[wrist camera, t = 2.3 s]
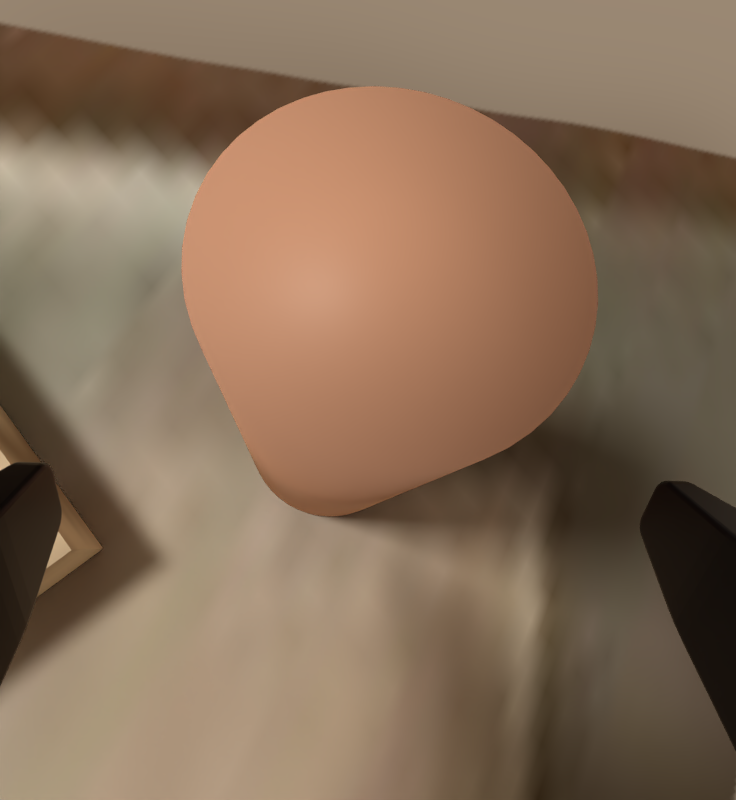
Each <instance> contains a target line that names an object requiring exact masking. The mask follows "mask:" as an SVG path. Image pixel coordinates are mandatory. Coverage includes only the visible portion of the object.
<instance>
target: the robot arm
mask: <svg viewBox="0 0 736 800" xmlns="http://www.w3.org/2000/svg"><path fill="white" fill-rule="evenodd" d="M61 519H62V508H61V503H60V499H59V495H58V490H57V486H56V482H55V478H54V473H53V471H52V468H51V467H50V465H48V464H46V463H43V462H16V463H13V464H11V465H9V466H7V467H5V468H4V469H2V470H0V685H1V683H2V681H3V679H4V677H5V675H6V672H7V670H8V668H9V666H10V664H11V661H12V659H13V657H14V655H15V653H16V650H17V648H18V646H19V644H20V641H21V639H22V637H23V634H24V632H25V630H26V627H27V625H28V622H29V619H30V616H31V613H32V611H33V608H34V605H35V601H36V598H37V595H38V592H39V589H40V586H41V583H42V580H43V577H44V574H45V571H46V568H47V564H48V561H49V558H50V555H51V552H52V549H53V546H54V543H55V540H56V537H57V534H58V531H59V527H60V524H61ZM640 532H641V536H642V539H643V542H644V545H645V547H646V550H647V553H648V555H649V558H650V561H651V563H652V566H653V569H654V572H655V574H656V577H657V580H658V582H659V585H660V588H661V590H662V593H663V596H664V599H665V601H666V604H667V607H668V609H669V612H670V614H671V617H672V619H673V622H674V624H675V626H676V628H677V631H678V633H679V635H680V637H681V639H682V641H683V644H684V646H685V648H686V650H687V652H688V654H689V656H690V658H691V660H692V662H693V664H694V666H695V668H696V670H697V672H698V674H699V676H700V679H701V681H702V683H703V685H704V687H705V689H706V691H707V693H708V695H709V697H710V699H711V701H712V703H713V705H714V707H715V709H716V711H717V714H718V716H719V718H720V720H721V722H722V724H723V726H724V728H725V730H726V732H727V734H728V736H729V738H730V740H731V742H732V744H733V746H734V749H735V751H736V508H735V507H733V506H731V505H729V504H728V503H726V502H724V501H722V500H720V499H719V498H717V497H715V496H713V495H712V494H710V493H708V492H706V491H704V490H703V489H701V488H699V487H697V486H696V485H694V484H692V483H689V482H685V481H664V482H661V483H660V484H659V485H658V486H657V487H656V488H655V490H654V493H653V495H652V497H651V499H650V501H649V503H648V505H647V507H646V509H645V511H644V513H643V515H642V518H641V521H640Z"/></svg>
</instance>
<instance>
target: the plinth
mask: <svg viewBox="0 0 736 800" xmlns="http://www.w3.org/2000/svg"><path fill="white" fill-rule="evenodd" d="M16 462H41V461H40V460H39V459H38V457H37V456H36V455H35V453H34V452H33V450H32V449H31V448H30V446H29V445H28V443H27V442H26V441H25V439H24V438H23V436H22V435H21V434H20V432H19V431H18V429H17V428H16V427H15V425H14V424H13V423H12V421H11V420H10V418H9V417H8V416H7V414H6V413H5V411H4V410H3V409H2V407H1V406H0V470H2V469H4V468H5V467H7V466H9V465H11V464H13V463H16ZM56 486H57V490H58V495H59V499H60V503H61V508H62V519H61V524H60V527H59V531H58V534H57V537H56V540H55V543H54V546H53V549H52V552H51V555H50V558H49V561H48V564H47V568H46V571H45V574H44V577H43V580H42V583H41V586H40V589H39V592H38V595H37V597H38V596H39V595H41V594H42V593H43V592H45V591H46V590H47V589H49V588H50V587H52V586H53V585H54V584H56V583H57V582H58V581H60V580H61V579H62V578H64V577H65V576H66V575H68V574H69V573H71V572H72V571H73V570H75V569H76V568H77V567H79V566H80V565H81V564H83V563H84V562H85V561H87V560H88V559H90V558H91V557H92V556H94V555H95V554H96V553H98V552H99V551H100V550H102V549H103V548H102V546H101V545H100V543H99V542H98V541H97V539H96V538H95V537H94V535H93V534H92V532H91V531H90V530H89V528H88V527H87V525H86V524H85V523H84V521H83V520H82V518H81V517H80V516H79V514H78V513H77V511H76V510H75V509H74V507H73V506H72V505H71V503H70V502H69V500H68V499H67V498H66V496H65V495H64V493H63V492H62V491H61V489H60V488H59V486H58V485H57V484H56Z"/></svg>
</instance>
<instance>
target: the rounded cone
mask: <svg viewBox="0 0 736 800" xmlns="http://www.w3.org/2000/svg"><path fill="white" fill-rule="evenodd" d="M182 280H183V289H184V297H185V302H186V306H187V310H188V313H189V317H190V321H191V324H192V327H193V330H194V332H195V334H196V337H197V339H198V341H199V344H200V346H201V348H202V351H203V353H204V355H205V357H206V359H207V362H208V364H209V366H210V368H211V370H212V372H213V374H214V377H215V379H216V381H217V383H218V385H219V387H220V389H221V392H222V394H223V396H224V398H225V400H226V402H227V405H228V407H229V409H230V411H231V413H232V415H233V417H234V420H235V422H236V424H237V426H238V428H239V430H240V432H241V435H242V437H243V439H244V441H245V443H246V445H247V447H248V450H249V452H250V454H251V456H252V458H253V460H254V463H255V465H256V467H257V469H258V471H259V473H260V475H261V477H262V478H263V480H264V482H265V483H266V484H267V486H268V487H269V488H270V489H271V491H272V492H274V493H275V494H276V495H277V496H278V497H279V498H280V499H281V500H283V501H284V502H286V503H287V504H288V505H290V506H292V507H294V508H296V509H298V510H301V511H303V512H306V513H309V514H314V515H318V516H342V515H347V514H352V513H355V512H358V511H361V510H363V509H365V508H368V507H370V506H373V505H375V504H378V503H380V502H382V501H385V500H387V499H390V498H392V497H394V496H397V495H399V494H402V493H404V492H407V491H409V490H411V489H414V488H416V487H419V486H421V485H424V484H426V483H428V482H431V481H433V480H436V479H438V478H440V477H443V476H445V475H448V474H450V473H453V472H455V471H457V470H460V469H462V468H465V467H467V466H469V465H472V464H474V463H477V462H479V461H482V460H484V459H486V458H488V457H490V456H492V455H494V454H496V453H498V452H501V451H503V450H505V449H507V448H509V447H510V446H512V445H513V444H515V443H516V442H518V441H519V440H521V439H522V438H524V437H525V436H527V435H528V434H530V433H531V432H532V431H533V430H534V429H536V428H537V427H538V426H539V425H540V424H541V423H542V422H543V421H544V420H545V419H547V418H548V417H549V416H550V415H551V414H552V413H553V411H554V410H555V409H556V408H557V406H558V405H559V404H560V403H561V402H562V400H563V399H564V398H565V397H566V395H567V394H568V392H569V391H570V389H571V387H572V386H573V384H574V382H575V381H576V379H577V377H578V375H579V374H580V372H581V369H582V367H583V364H584V362H585V360H586V357H587V355H588V352H589V349H590V345H591V342H592V338H593V334H594V330H595V324H596V315H597V306H598V289H597V274H596V268H595V262H594V255H593V252H592V248H591V245H590V241H589V238H588V235H587V231H586V229H585V227H584V224H583V222H582V220H581V218H580V215H579V213H578V211H577V209H576V207H575V205H574V203H573V202H572V200H571V198H570V197H569V195H568V193H567V191H566V190H565V188H564V187H563V185H562V184H561V183H560V181H559V180H558V179H557V177H556V176H555V175H554V173H553V172H552V171H551V169H550V168H549V167H548V166H547V165H546V164H545V163H544V162H543V161H542V160H541V158H540V157H539V156H538V155H537V154H536V153H535V152H534V151H533V150H532V149H531V148H530V147H528V146H527V145H526V144H525V143H524V142H522V141H521V140H520V139H519V138H518V137H517V136H515V135H514V134H513V133H511V132H510V131H508V130H507V129H506V128H504V127H503V126H501V125H500V124H498V123H497V122H495V121H494V120H492V119H490V118H488V117H486V116H485V115H483V114H481V113H479V112H477V111H475V110H473V109H472V108H469V107H467V106H464V105H462V104H459V103H457V102H454V101H452V100H449V99H446V98H443V97H439V96H436V95H432V94H429V93H426V92H420V91H415V90H409V89H403V88H394V87H377V86H371V87H351V88H344V89H338V90H332V91H326V92H322V93H319V94H315V95H312V96H309V97H305V98H302V99H299V100H297V101H295V102H292V103H290V104H288V105H286V106H283V107H281V108H279V109H277V110H275V111H274V112H272V113H270V114H269V115H267V116H265V117H263V118H262V119H260V120H258V121H257V122H256V123H254V124H253V125H252V126H251V127H249V128H248V129H247V130H246V131H244V132H243V133H242V134H241V135H239V136H238V137H237V138H236V139H235V140H234V141H233V142H232V143H231V144H230V145H229V147H228V148H227V149H226V150H225V151H224V152H223V153H222V154H221V155H220V157H219V158H218V159H217V161H216V162H215V164H214V165H213V166H212V168H211V169H210V170H209V172H208V173H207V175H206V177H205V179H204V181H203V183H202V185H201V186H200V188H199V190H198V192H197V194H196V196H195V199H194V202H193V205H192V208H191V211H190V213H189V216H188V219H187V224H186V229H185V235H184V240H183V246H182Z"/></svg>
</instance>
